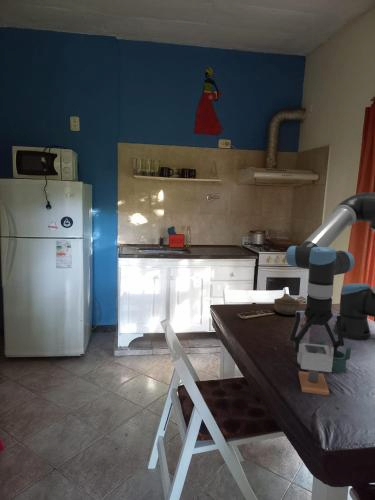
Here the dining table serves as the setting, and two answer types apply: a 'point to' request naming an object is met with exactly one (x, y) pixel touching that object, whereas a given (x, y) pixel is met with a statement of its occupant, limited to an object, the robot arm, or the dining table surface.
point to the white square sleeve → (316, 357)
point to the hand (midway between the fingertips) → (314, 363)
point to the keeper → (313, 382)
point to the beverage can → (301, 324)
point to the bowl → (286, 305)
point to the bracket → (339, 359)
